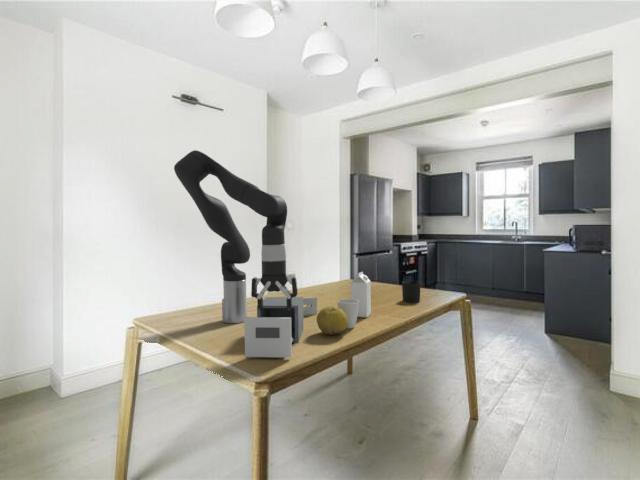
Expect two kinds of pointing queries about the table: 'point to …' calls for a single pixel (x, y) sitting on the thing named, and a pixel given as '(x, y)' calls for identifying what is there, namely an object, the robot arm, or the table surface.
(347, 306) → the cup
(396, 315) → the table surface
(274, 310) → the grey open box
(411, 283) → the pen holder
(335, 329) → the fruit
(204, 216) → the robot arm
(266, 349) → the grey flat-panelled piece
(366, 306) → the milk carton
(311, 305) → the cassette
